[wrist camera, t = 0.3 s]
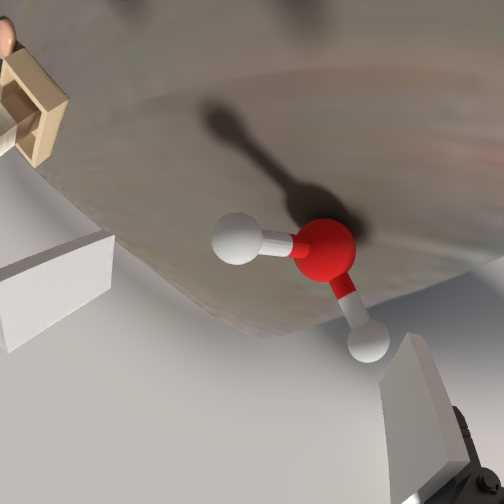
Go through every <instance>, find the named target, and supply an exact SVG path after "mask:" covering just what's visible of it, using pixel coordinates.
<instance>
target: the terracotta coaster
mask: <svg viewBox="0 0 504 504" xmlns="http://www.w3.org/2000/svg"><path fill="white" fill-rule="evenodd" d="M15 46H16V34H15V29H14V26H13V24H12V22H11V21H10V20H9V19H7V18H5V19H2V20H0V59H3V58H4V57H6V56H8V55H10V54H12V53H13V52H14V50H15Z"/></svg>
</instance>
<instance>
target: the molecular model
mask: <svg viewBox="0 0 504 504" xmlns="http://www.w3.org/2000/svg"><path fill="white" fill-rule="evenodd" d="M211 244H212V248H213V250H214V252H215V253H216V255H217V256H218V257H219V258H220V259H222V260H223V261H225V262H227V263H230V264H244V263H247V262H249V261H251V260H252V259H253V258H255V257H256V255H257V254H264V255H274V256H283V257H292V258H294V261H295V263H296V265H297V267H298V269H299V270H300V271H301V272H302V273H303V274H304V275H305V276H306V277H308V278H309V279H311V280H314V281H317V282H329V284H330V286H331V288H332V290H333V292H334V294H335V296H336V298H337V300H338V302H339V304H340V306H341V308H342V310H343V312H344V315H345V317H346V319H347V321H348V323H349V325H350V327H351V329H352V330H351V331H350V334H349V336H348V348H349V351H350V353H351V354H352V356H353V357H355V359H357V360H359V361H361V362H373V361H376V360H378V359H380V358H381V357H382V356H383V355H384V354H385V353H386V351H387V349H388V346H389V341H390V339H389V334H388V331H387V329H386V328H385V327H384V325H382V324H381V323H379V322H378V321H375V320H370V318H369V316H368V314H367V311H366V309H365V307H364V305H363V303H362V301H361V299H360V297H359V295H358V293H357V291H356V289H355V287H354V285H353V283H352V281H351V279H350V277H349V275H348V273H347V272H348V271H349V270H350V268H351V267H352V265H353V263H354V260H355V255H356V245H355V241H354V238H353V236H352V234H351V233H350V231H349V230H348V229H347V228H346V227H345V226H344V225H343V224H341V223H340V222H338V221H336V220H332V219H326V218H322V219H316V220H313V221H311V222H309V223H307V224H306V225H304V226H303V227H302V228H301V229H300V231H299V232H298V233H297V235H294V234H288V233H281V232H275V231H269V230H263V229H261V228H260V226H259V224H258V223H257V222H256V220H255V219H253V218H252V217H251V216H249V215H247V214H244V213H230V214H227V215H225V216H223V217H222V218H220V219H219V220H218V221H217V223H216V224H215V225H214V227H213V230H212V233H211Z"/></svg>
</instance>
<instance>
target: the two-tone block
mask: <svg viewBox="0 0 504 504" xmlns="http://www.w3.org/2000/svg"><path fill="white" fill-rule="evenodd" d="M41 114H42V112H41V111H40V109H39V108H38V107H37V106H36V105H35V103H34V102H33V101H32V100H31V99H30V97H29V96H28V95H27V94H26V92H25V91H24V90H23V89H22V88H21V89H19V90H18V91H16V92H14V93H13V94H11V95H9V96H8V97H6V98H5V99H3V100H2V101H0V156H1V155H2V154H4V153H5V152H6V151H7V150H9V149H10V148H11V147H13V146H14V145H15V144H16V143H18V142H19V141H20V140H22V139H23V138H24V137H26V136H27V135H29V134H30V133H31V132H33V131H34V130H36V129H37V128H38V126H39V122H40V118H41Z"/></svg>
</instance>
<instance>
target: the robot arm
mask: <svg viewBox="0 0 504 504" xmlns="http://www.w3.org/2000/svg"><path fill="white" fill-rule="evenodd" d="M114 238H115V235H114V234H112V233H109V232H106V231H104V230H101V231H99V232H95V233H92V234H89V235H87V236H84V237H81V238H78V239H75V240H73V241H70V242H67V243H64V244H62V245H60V246H56V247H54V248H51V249H48V250H46V251H43V252H40V253H38V254H36V255H33V256H30V257H28V258H25V259H23V260H20V261H18V262H15V263H13V264H10V265H8V266H6V267H3V268H0V347H1V348H2V349H4V350H5V351H6V352H7V353H10V352H12V351H13V350H15V349H16V348H18V347H19V346H21V345H22V344H23V343H25V342H27V341H28V340H29V339H31V338H33V337H34V336H36V335H37V334H39V333H40V332H42V331H43V330H45V329H47V328H48V327H50V326H51V325H53V324H54V323H56V322H57V321H59V320H61V319H62V318H64V317H65V316H67V315H68V314H70V313H72V312H73V311H75V310H76V309H78V308H80V307H81V306H83V305H84V304H86V303H88V302H89V301H91V300H92V299H94V298H96V297H97V296H99V295H100V294H102V293H104V292H105V291H107V290H109V289H110V288H111V272H112V260H113V248H114ZM379 384H380V392H381V399H382V407H383V415H384V423H385V431H386V441H387V451H388V462H389V478H390V496H391V504H423V503H424V504H504V487H501V483H500V480H499V478H498V477H497V475H496V474H495V473H494V472H493V471H492V470H490V469H488V468H483V467H481V465H480V461H479V459H478V455H477V452H476V449H475V446H474V444H473V440H472V438H470V437H471V435H470V432H469V430H468V429H467V428H468V426H467V423H466V421H465V418H464V416H463V415H462V414H461V412H460V411H459V409H458V408H457V407H455V406H452V405H451V403H450V400H449V397H448V395H447V392H446V389H445V387H444V384H443V382H442V380H441V377H440V375H439V372H438V370H437V367H436V365H435V363H434V360H433V358H432V356H431V353H430V351H429V349H428V347H427V344H426V342H425V340H424V338H423V336H420V335H416V334H413V333H409V332H408V333H407V334H406V336H405V338H404V340H403V342H402V344H401V346H400V348H399V350H398V351H397V353H396V355H395V357H394V359H393V360H392V362H391V364H390V366H389V367H388V369H387V371H386V373H385V374H384V376H383V378H382V379H381V381H380V383H379Z"/></svg>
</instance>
